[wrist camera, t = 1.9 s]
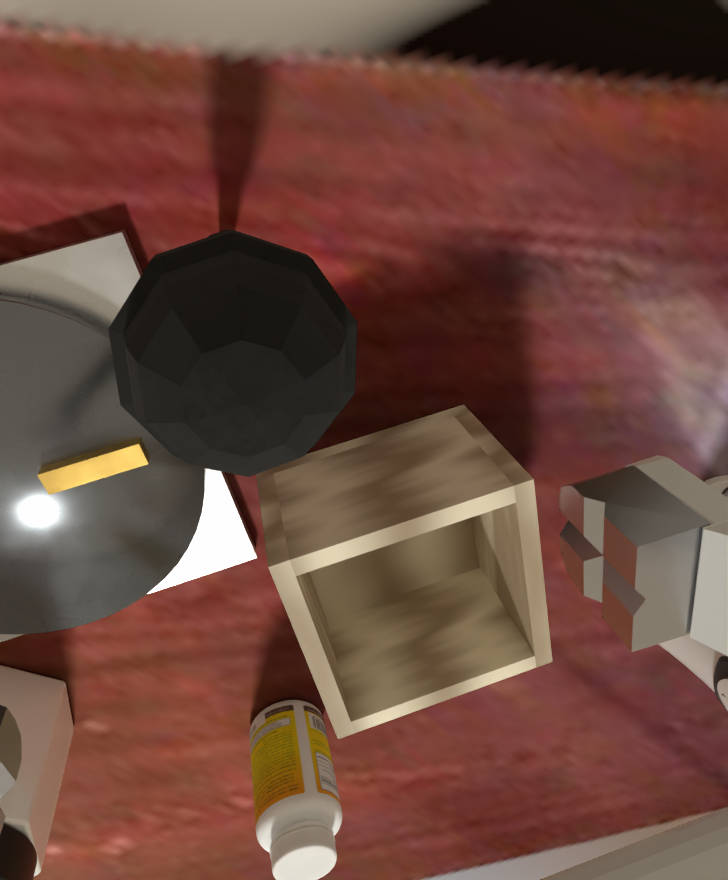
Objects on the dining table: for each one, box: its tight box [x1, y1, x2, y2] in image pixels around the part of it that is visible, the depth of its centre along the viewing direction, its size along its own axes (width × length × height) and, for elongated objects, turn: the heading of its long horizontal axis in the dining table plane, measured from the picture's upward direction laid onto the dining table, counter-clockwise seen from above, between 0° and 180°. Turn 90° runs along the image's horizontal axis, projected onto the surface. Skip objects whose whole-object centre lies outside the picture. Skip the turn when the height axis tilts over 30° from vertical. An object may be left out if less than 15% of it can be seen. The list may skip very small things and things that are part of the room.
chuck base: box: [0, 229, 257, 642], centre depth 31 cm, size 20×20×1 cm
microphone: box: [108, 229, 357, 477], centre depth 20 cm, size 6×6×20 cm
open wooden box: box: [256, 405, 552, 739], centre depth 35 cm, size 13×13×9 cm
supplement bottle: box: [250, 700, 342, 880], centre depth 41 cm, size 6×6×10 cm
